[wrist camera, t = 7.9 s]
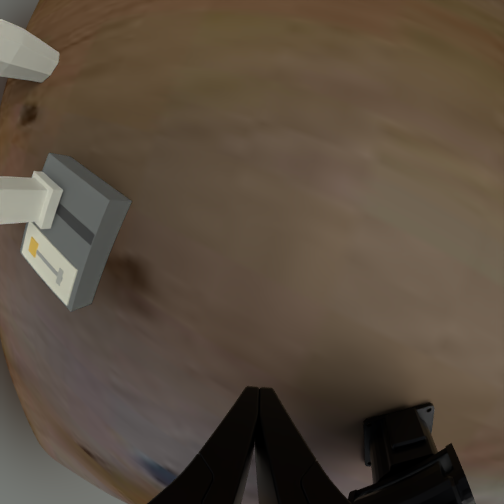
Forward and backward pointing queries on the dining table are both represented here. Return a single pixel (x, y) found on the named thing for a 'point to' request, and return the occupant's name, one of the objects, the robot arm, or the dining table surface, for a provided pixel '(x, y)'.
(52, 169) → the switch unit
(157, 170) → the dining table surface
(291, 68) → the dining table surface
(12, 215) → the slider knob
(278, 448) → the robot arm
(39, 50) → the faceted bottle
